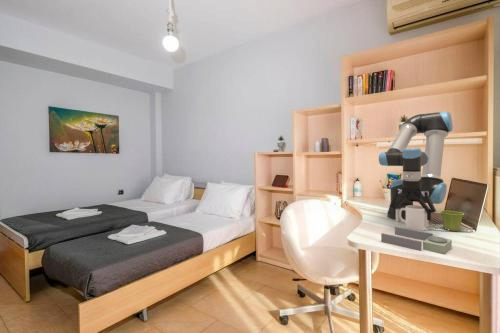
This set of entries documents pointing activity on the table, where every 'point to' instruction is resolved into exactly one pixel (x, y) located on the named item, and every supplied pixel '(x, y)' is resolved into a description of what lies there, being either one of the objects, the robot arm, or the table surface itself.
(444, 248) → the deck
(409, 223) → the cup
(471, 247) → the table surface
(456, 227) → the plant pot
